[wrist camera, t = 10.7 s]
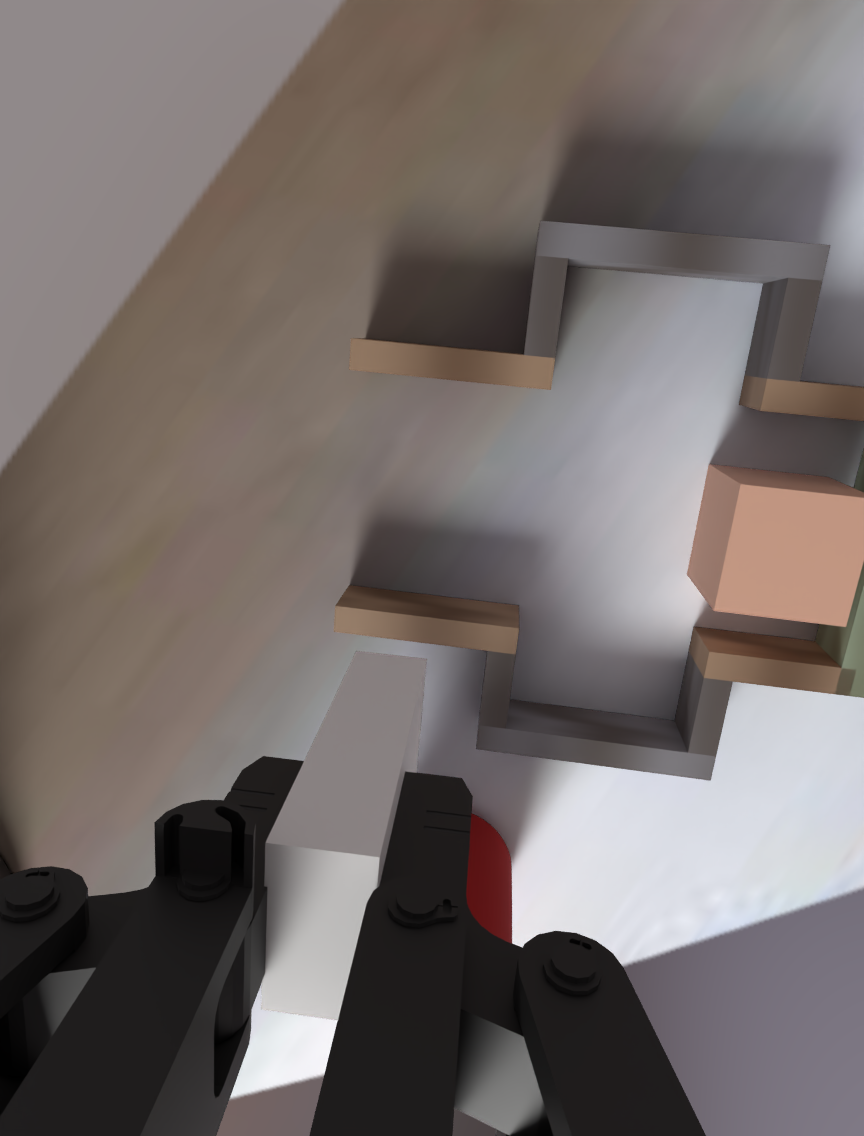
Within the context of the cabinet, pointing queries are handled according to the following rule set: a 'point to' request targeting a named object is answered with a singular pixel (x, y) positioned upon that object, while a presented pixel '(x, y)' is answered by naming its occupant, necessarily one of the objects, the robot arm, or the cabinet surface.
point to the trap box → (716, 657)
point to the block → (778, 545)
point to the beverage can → (489, 879)
